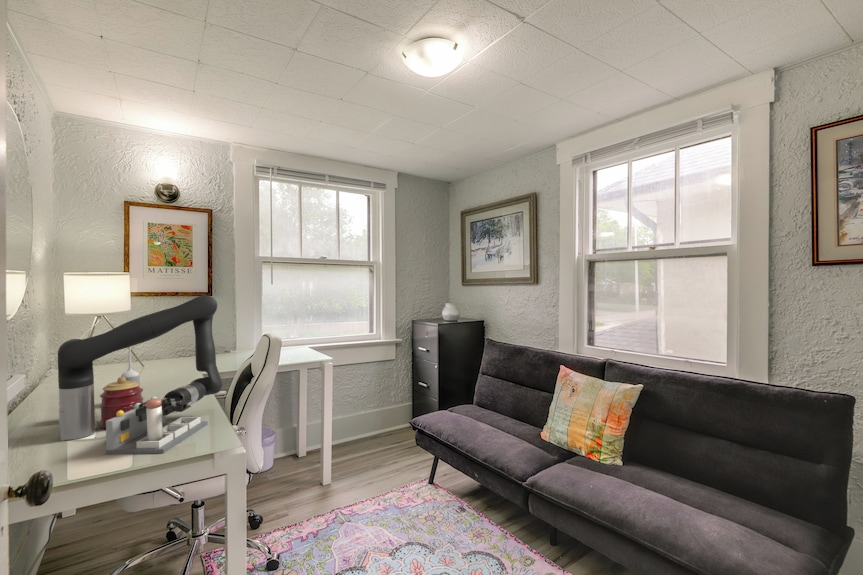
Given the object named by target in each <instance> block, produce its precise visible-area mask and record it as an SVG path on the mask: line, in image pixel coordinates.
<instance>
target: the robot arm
mask: <svg viewBox="0 0 863 575" xmlns="http://www.w3.org/2000/svg"><path fill="white" fill-rule="evenodd" d="M217 310H218V302H217V300H216V299H215V298H214V297H212V296H210V295H200V296H196V297H195V298H194V297H193V298H192V299H190V300H188V301H185V302H184V303H181V304H179V305H176V306H173V307H170V308H166V309H163V310H158V311H155V312H153V313H149V314H146V315H143V316H142V315H141V316H139V317H137V318H134V319H131V320H129V321H127V322H125V323H122V324H120V325H118V326H117V327H115V328H113V329H110V330H109V331H106V332H104V333H101V334H97V335H94V336H91V337H87V338H83V339H81V338H73V339H69V340H67V341H65V342H63V343H61V345H60V346H59V348H58V350H57V372H58V373H57V378H58V379H57V380H58V406H59V408H58V422H59V439H60V441H61V442H62V441H69V440H70V441H71V440H77V439H82V438H85V436H86V437H89V436H91V435H93V434H95V433H96V419H95V418H96V416H95V414H96V413H95V410H96V409H95V380H94V378H95V377H94V376H95V375H94V365H93V364H94V361H96V360H98V359H100V358H103V357H104V356H107V355H108V354H111V353H114V352H117V351H120V350H124V349H127V348H128V349H129V347H131V348H132V347H133V346H137V345H139V344H142V343H145V342H148V341H151V340H153V339H156V338H158V337H160V336H161V337H162V336H163V335H165V334H167V333H169V332H171V331H173V330H174V329H176V328H178V327H179V326H182V325H184V324H185V323H188V322H192V324H193V329H194V336H195V337H194V339H195V340H194V341H195V343H194V344H195V349H194V350H195V352H194V354H195V369H196V371H198V372H203V373H206V374H207V376H206V377H205V376H204V377H200V378H199V377H198V378H196V379H193V380H192V381H191V382H190V383H188V384H186V385H183V386H180V387H178V388H176V389H173V390H170V391H168V392H167V393H166V394H165V395H164V396H163V397H162V398H163V399H161V404H162V411H163V416H165V417H167V416H168V415H170V414H172V413H174V414H175V413H182V412H184V411H187V409H189V408H191V407H192V406H191V405H193V404H195V403H197V402H198V401H200V400H202V399H203V398H204V397H205V396H210V395H217V394H218V393H220V391H221V390H222V387H223V381H222V378H221V375H220V372H219V369H218V367H217V360H216V359H217V358H216V357H217V356H216V346H215V342H214V341H215V340H214V338H213V320H214V319H213V318H214V315H215V313H216V312H217ZM135 412H136V416H140V415H142V414H145V413H147V411H146V401H145V402H144V401H143V403H142V404H139V408H138V409H136V410H135Z"/></svg>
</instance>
